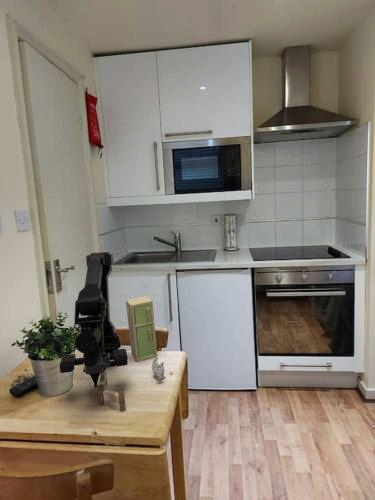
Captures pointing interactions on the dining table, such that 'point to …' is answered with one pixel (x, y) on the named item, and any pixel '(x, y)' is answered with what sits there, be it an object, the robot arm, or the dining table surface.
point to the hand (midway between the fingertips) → (95, 386)
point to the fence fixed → (111, 398)
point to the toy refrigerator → (141, 328)
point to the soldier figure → (158, 370)
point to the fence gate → (103, 379)
